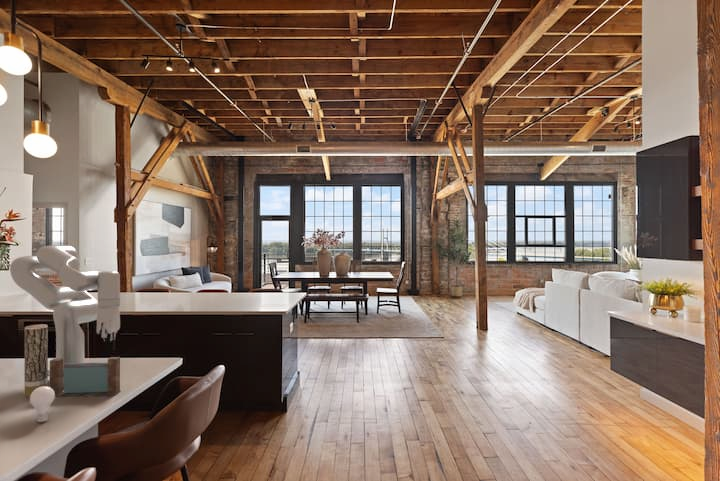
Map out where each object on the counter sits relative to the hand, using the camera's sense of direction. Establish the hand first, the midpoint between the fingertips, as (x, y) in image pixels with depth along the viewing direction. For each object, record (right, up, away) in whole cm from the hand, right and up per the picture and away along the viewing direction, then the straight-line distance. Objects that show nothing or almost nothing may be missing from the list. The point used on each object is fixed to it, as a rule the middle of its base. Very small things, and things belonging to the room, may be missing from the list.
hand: (109, 350), depth 172 cm
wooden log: (-21, -14, -10) cm, 27 cm away
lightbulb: (-1, -14, -35) cm, 37 cm away
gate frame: (-3, -14, -10) cm, 17 cm away
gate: (-3, -13, -10) cm, 16 cm away
